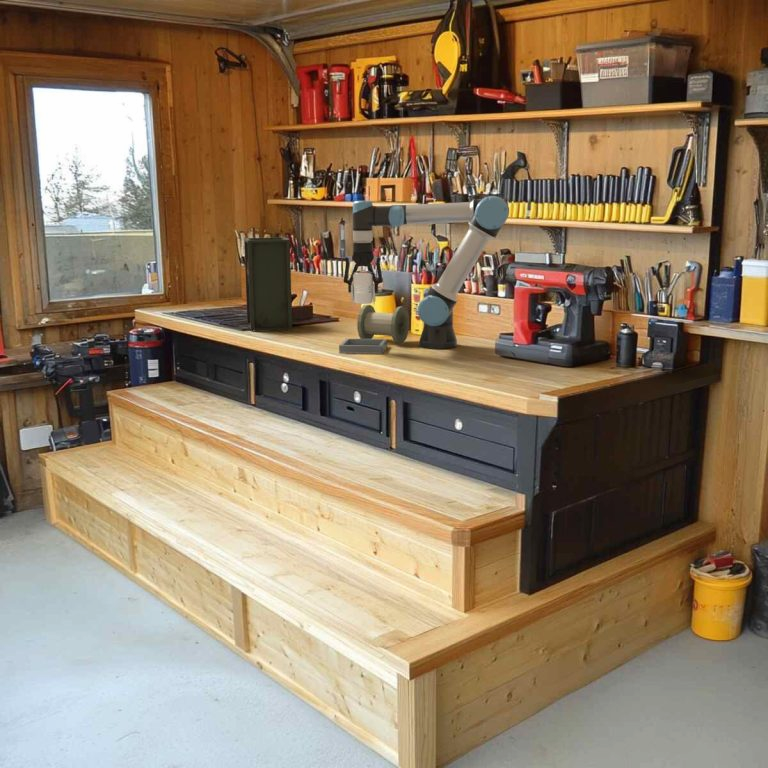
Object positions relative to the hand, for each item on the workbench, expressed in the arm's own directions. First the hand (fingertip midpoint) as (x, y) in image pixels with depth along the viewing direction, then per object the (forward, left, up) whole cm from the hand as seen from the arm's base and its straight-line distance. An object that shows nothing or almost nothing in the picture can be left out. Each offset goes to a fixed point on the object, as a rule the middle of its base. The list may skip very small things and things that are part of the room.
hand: (363, 301), depth 353 cm
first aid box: (+52, -53, -19) cm, 77 cm away
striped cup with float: (0, 0, -1) cm, 1 cm away
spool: (-5, -19, -19) cm, 28 cm away
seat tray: (0, 0, -19) cm, 19 cm away
